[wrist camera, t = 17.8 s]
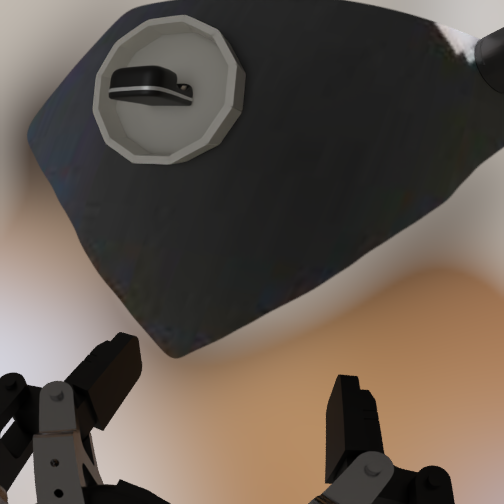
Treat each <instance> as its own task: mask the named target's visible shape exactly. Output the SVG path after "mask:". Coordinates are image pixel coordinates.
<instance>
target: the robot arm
mask: <svg viewBox="0 0 504 504" xmlns="http://www.w3.org/2000/svg"><path fill="white" fill-rule="evenodd" d="M475 60H476V63H477V67H478V69H479V71H480V73H481V75H482V76H483V78H484V79H485V80H486V82H487V83H488V84H489V85H490V86H491V87H492V88H494V89H495V90H496V91H499V92H501V93H504V27H503V28H501V29H499V30H497V31H495V32H494V33H491V34H490V35H488V36H486V37H484V38H482V39H481V40H479V41H478V43H477V44H476V47H475ZM141 371H142V361H141V354H140V347H139V340H138V338H137V337H136V336H133V335H129V334H126V333H122V332H119V333H118V334H117V335H116V336H115V337H114V338H113V339H112V340H111V341H108V340H107V341H105V342H103V343H101V344H99V345H97V346H96V347H95V348H94V349H93V351H92V352H91V353H90V355H88V356H87V357H86V358H85V360H84V361H82V362H81V363H80V364H79V365H78V367H77V368H76V369H75V370H74V371H73V372H72V373H71V374H70V375H69V376H68V377H67V378H66V380H65V381H64V382H62V381H54V382H50V383H48V384H46V385H45V386H44V387H43V388H41V387H36V386H30V385H27V384H26V381H25V379H24V377H23V376H22V375H20V374H18V373H8V374H5V375H4V376H2V377H1V378H0V433H1V431H2V429H3V428H4V427H5V426H6V424H7V423H8V422H9V420H10V419H11V418H12V417H13V419H14V420H15V421H14V422H13V424H12V425H11V426H10V427H9V429H8V430H7V431H6V433H5V434H4V435H3V436H2V438H1V439H0V504H8V502H7V501H8V500H7V499H8V497H7V491H8V490H9V488H10V486H11V485H12V483H13V482H14V480H15V478H16V477H17V475H18V474H19V472H20V471H21V469H22V468H23V466H24V465H25V463H26V462H27V460H28V459H29V457H30V456H31V454H32V453H33V457H34V474H35V486H36V494H37V504H170V503H168V502H167V501H165V500H163V499H162V498H160V497H158V496H156V495H155V494H153V493H152V492H150V491H148V490H146V489H144V488H141V487H138V486H136V485H133V484H130V483H128V482H125V481H123V480H119V482H118V484H117V485H108V484H105V485H104V484H103V481H102V479H101V477H100V474H99V471H98V467H97V462H96V458H95V453H94V448H93V443H92V436H91V433H90V431H91V430H92V428H93V427H95V428H98V429H100V430H102V431H103V430H104V429H105V427H106V426H107V424H108V423H109V421H110V420H111V418H112V417H113V416H114V414H115V412H116V411H117V410H118V408H119V407H120V405H121V404H122V402H123V401H124V399H125V398H126V396H127V395H128V393H129V392H130V390H131V389H132V387H133V386H134V385H135V383H136V382H137V380H138V379H139V377H140V375H141ZM378 419H379V418H378V412H377V406H376V401H375V399H374V398H373V396H372V394H371V393H370V392H369V390H360V386H359V379H358V377H357V376H349V375H338V377H337V379H336V381H335V384H334V387H333V390H332V393H331V396H330V399H329V401H328V405H327V410H326V470H325V472H326V473H325V483H329V484H332V485H331V486H329V488H327V489H326V491H324V492H323V493H322V494H321V495H320V496H317V497H316V498H314V499H313V500H312V501H311V502H310V503H308V504H455V503H454V496H453V491H452V484H451V479H450V476H449V474H448V473H447V472H446V471H445V470H444V469H443V468H441V467H438V466H427V467H424V468H423V469H421V470H420V471H419V472H414V471H409V470H405V469H401V468H398V467H396V466H394V465H393V463H392V461H391V460H390V458H389V457H387V456H386V455H385V454H384V450H383V443H382V436H381V430H380V424H379V421H378Z"/></svg>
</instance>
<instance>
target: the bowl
mask: <svg viewBox="0 0 504 504" xmlns="http://www.w3.org/2000/svg"><path fill="white" fill-rule="evenodd" d="M149 65H156V66H161V67H164V68H166V69H169V70H171V71H173V72H174V73H176V74H177V84H189V85H190V86H191V87H192V90H193V101H192V104H191V106H149V105H144V104H138V103H132V102H125V101H119V100H113V99H110V98H109V93H108V90H109V88H110V81H111V76H112V74H113V72H114V71H115V70H117V69H120V68H127V67H136V66H149ZM245 79H246V73H245V71H244V69H243V67H242V65H241V64H240V62H239V60H238V58H237V56H236V54H235V52H234V50H233V49H232V47H231V45H230V43H229V42H228V41H227V40H226V38H225V37H224V36H223V35H222V34H221V32H220V31H219V30H217V29H215V28H213V27H211V26H209V25H207V24H205V23H203V22H200V21H198V20H196V19H194V18H192V17H189V16H187V15H179V16H171V17H163V18H156V19H150V20H147V21H145V22H144V23H142V24H141V25H139V26H138V27H136V28H135V29H133V30H132V31H130V32H129V33H128V34H126V35H125V36H123V37H122V38H121V39H119V40H118V41H117V43H115V44H114V46H113V47H112V49H111V51H110V52H109V54H108V56H107V57H106V59H105V61H104V62H103V64H102V66H101V68H100V69H99V71H98V73H97V75H96V82H95V91H94V101H93V114H94V116H95V119H96V121H97V124H98V126H99V129H100V131H101V134H102V136H103V138H104V141H105V143H106V144H107V145H109V146H110V147H111V148H113V149H114V150H116V151H117V152H118V153H120V154H121V155H122V156H124V157H125V158H127V159H128V160H129V161H131V162H132V163H145V164H168V165H170V164H175V163H181V162H187V161H188V160H190V159H192V158H194V157H196V156H198V155H200V154H202V153H204V152H206V151H208V150H210V149H212V148H214V147H215V146H217V145H219V144H220V143H221V142H222V140H223V139H224V137H225V136H226V134H227V133H228V131H229V130H230V129H231V127H232V126H233V124H234V123H235V121H236V120H237V119H238V117H239V116H240V114H241V113H242V112H241V111H242V110H243V99H244V89H245Z"/></svg>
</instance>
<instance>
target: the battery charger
mask: <svg viewBox="0 0 504 504" xmlns="http://www.w3.org/2000/svg"><path fill="white" fill-rule="evenodd" d="M108 93H109V98H110V99H113V100H119V101H125V102H132V103H138V104H144V105H149V106H191V104H192V101H193V90H192V87H191V86H190V85H189V84H177V74H176V73H174V72H173V71H171V70H169V69H166V68H164V67H161V66H156V65H149V66H136V67H127V68H120V69H117V70H115V71H114V72H113V74H112V76H111V81H110V88H109V90H108Z"/></svg>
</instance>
